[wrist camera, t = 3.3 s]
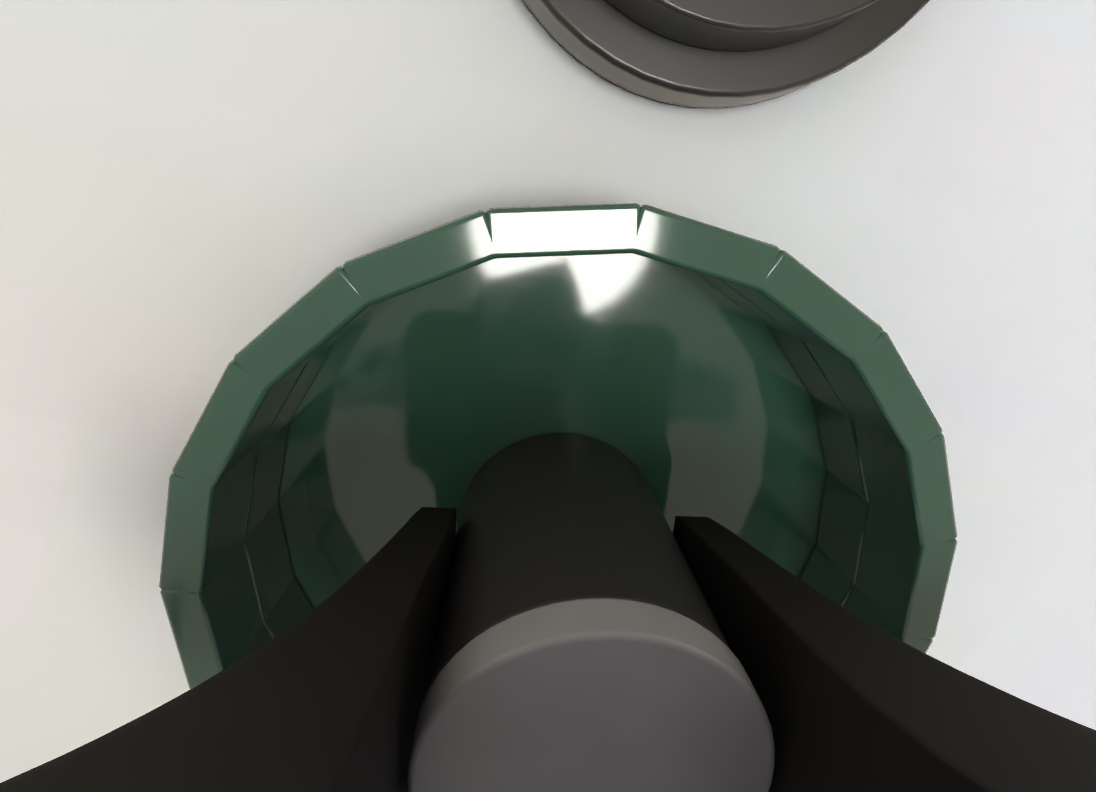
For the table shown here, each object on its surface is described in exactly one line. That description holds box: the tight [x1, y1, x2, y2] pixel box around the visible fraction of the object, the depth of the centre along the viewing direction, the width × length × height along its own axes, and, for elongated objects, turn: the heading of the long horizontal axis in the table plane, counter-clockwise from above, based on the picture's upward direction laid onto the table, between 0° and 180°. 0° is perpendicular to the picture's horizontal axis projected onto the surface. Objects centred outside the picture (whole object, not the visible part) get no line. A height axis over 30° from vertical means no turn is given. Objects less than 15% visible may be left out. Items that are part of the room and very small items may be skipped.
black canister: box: [407, 433, 775, 792], centre depth 9 cm, size 4×4×6 cm
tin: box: [159, 203, 957, 689], centre depth 10 cm, size 12×12×3 cm
